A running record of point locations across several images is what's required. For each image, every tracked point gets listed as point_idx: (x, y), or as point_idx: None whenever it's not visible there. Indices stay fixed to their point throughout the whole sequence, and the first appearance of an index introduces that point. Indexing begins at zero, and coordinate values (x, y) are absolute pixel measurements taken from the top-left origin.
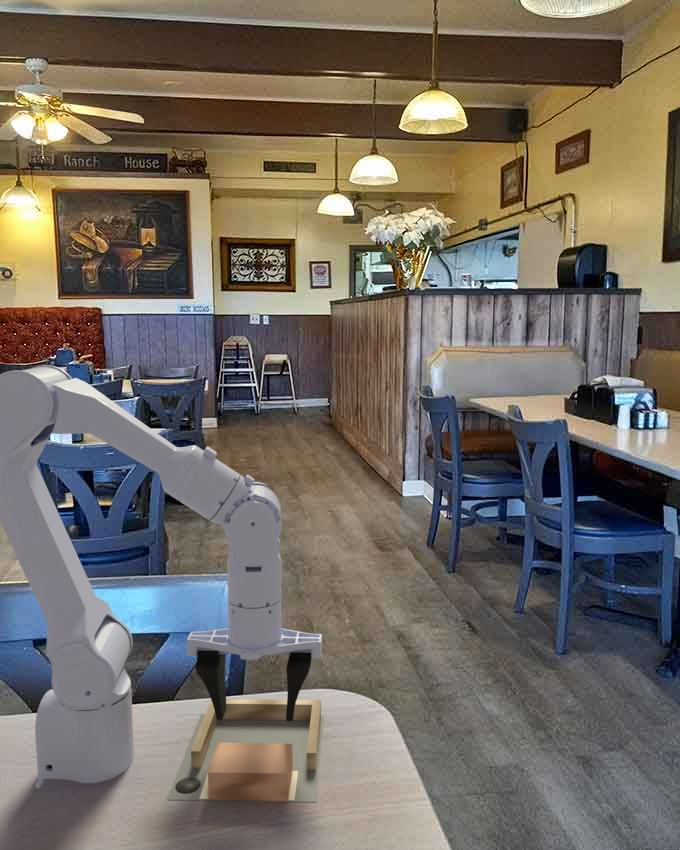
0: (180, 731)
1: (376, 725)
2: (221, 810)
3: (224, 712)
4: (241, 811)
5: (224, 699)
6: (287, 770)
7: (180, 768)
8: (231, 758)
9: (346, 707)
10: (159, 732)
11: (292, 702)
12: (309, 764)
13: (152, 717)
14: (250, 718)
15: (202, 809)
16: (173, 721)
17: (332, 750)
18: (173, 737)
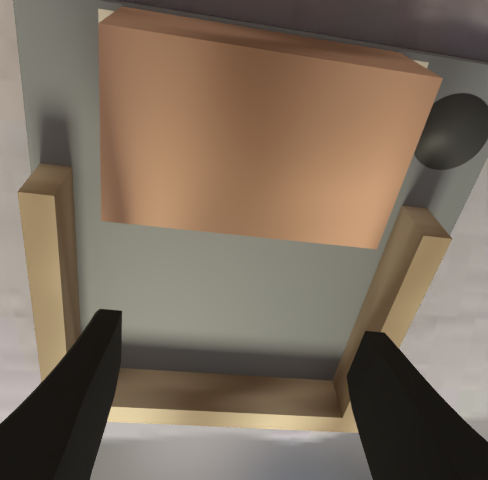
0: (420, 352)
1: None
2: (352, 26)
3: (355, 362)
4: (287, 11)
5: (364, 407)
6: (101, 46)
7: (458, 210)
8: (337, 158)
9: (4, 406)
10: (469, 352)
11: (69, 367)
12: (56, 174)
13: (474, 396)
14: (250, 377)
15: (410, 39)
16: (431, 382)
17: (14, 262)
18: (440, 335)
